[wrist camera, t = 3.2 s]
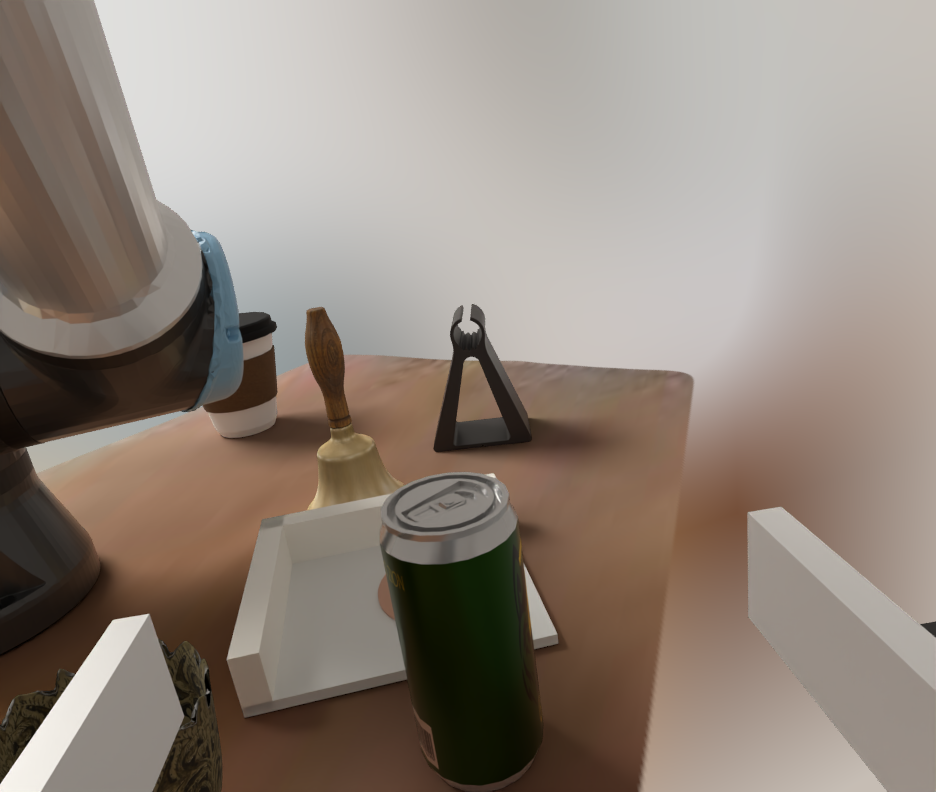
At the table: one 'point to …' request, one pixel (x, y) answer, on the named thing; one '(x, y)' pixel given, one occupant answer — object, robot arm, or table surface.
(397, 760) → the table surface
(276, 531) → the tray
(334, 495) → the hand bell
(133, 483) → the table surface
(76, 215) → the robot arm
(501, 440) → the phone stand
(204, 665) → the cup
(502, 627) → the beer can
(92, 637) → the table surface
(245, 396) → the coffee cup
